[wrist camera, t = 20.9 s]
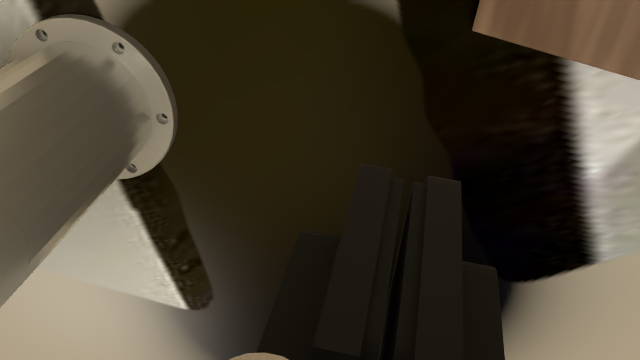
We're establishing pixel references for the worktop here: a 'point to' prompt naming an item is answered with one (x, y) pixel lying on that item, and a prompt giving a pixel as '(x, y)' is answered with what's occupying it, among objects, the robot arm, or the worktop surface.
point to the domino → (569, 29)
